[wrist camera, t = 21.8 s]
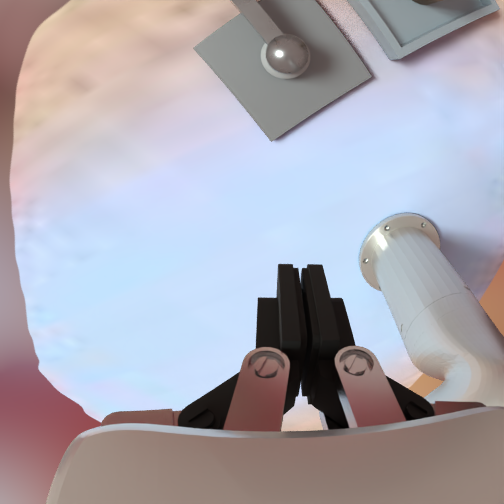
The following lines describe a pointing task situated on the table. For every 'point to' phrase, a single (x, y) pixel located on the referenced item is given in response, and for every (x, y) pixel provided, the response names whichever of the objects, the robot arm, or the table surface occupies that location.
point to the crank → (274, 39)
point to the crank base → (288, 93)
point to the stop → (426, 1)
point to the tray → (416, 21)
